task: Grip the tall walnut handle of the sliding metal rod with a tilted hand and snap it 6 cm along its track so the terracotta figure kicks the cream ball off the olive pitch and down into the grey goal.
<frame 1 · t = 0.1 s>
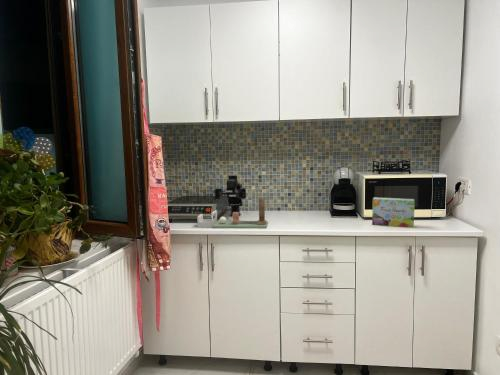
hand: (228, 195, 211), 17 cm above the worktop, tool horizontal, fingers open, 9 cm apart
pitch: (232, 225, 208), on the worktop
snack box: (392, 225, 200), on the worktop
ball: (222, 220, 208), point 3 cm above the worktop, touching pitch
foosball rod: (249, 210, 206), point 8 cm above the worktop, slide at 0.0 cm
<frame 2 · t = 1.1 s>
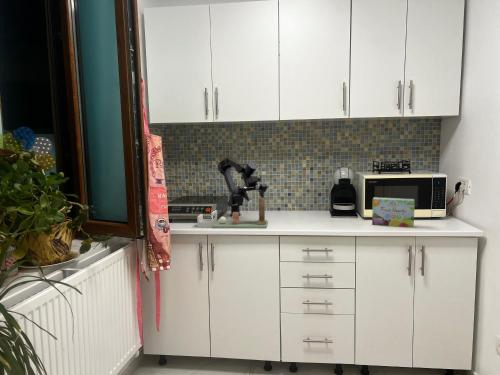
hand: (256, 200, 211), 14 cm above the worktop, tool tilted 45°, fingers open, 9 cm apart
nothing on the worktop moved.
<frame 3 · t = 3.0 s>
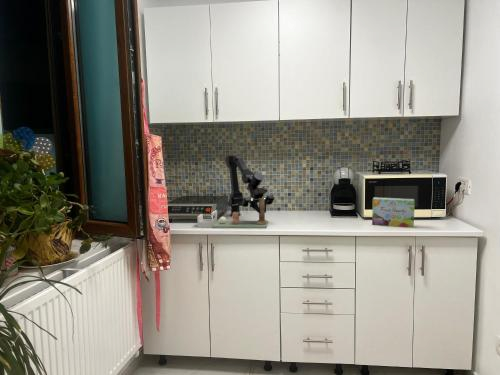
hand: (262, 212, 204), 8 cm above the worktop, tool tilted 45°, fingers closed on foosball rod, 3 cm apart
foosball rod: (249, 210, 206), point 8 cm above the worktop, slide at 0.0 cm, touching gripper
everything else where it was.
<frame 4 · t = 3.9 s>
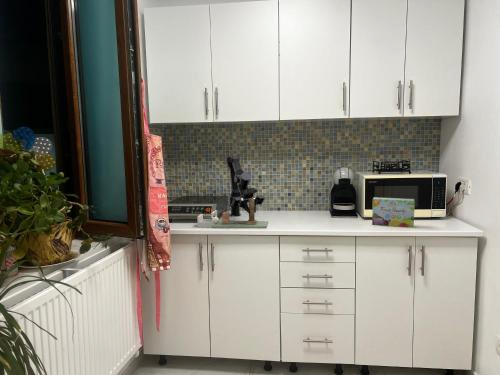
hand: (252, 212, 205), 8 cm above the worktop, tool tilted 45°, fingers closed on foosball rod, 3 cm apart
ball: (215, 220, 209), point 3 cm above the worktop, tilted 100°, touching pitch
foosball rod: (239, 210, 207), point 8 cm above the worktop, slide at 5.8 cm, touching gripper
everything else where it was.
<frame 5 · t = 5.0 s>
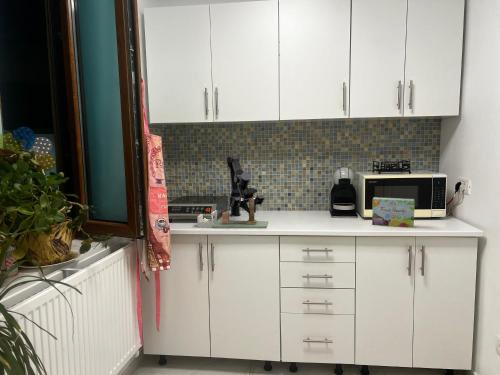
hand: (252, 212, 205), 8 cm above the worktop, tool tilted 45°, fingers closed on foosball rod, 3 cm apart
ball: (205, 221, 210), point 2 cm above the worktop, tilted 77°
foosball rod: (238, 210, 207), point 8 cm above the worktop, slide at 5.9 cm, touching gripper
everything else where it was.
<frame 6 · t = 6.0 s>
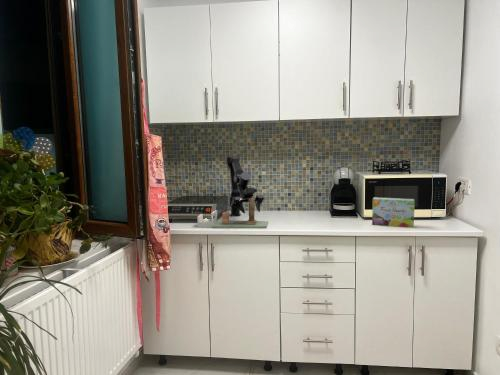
hand: (252, 212, 205), 8 cm above the worktop, tool tilted 45°, fingers open, 9 cm apart
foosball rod: (238, 210, 207), point 8 cm above the worktop, slide at 5.9 cm
everything else where it was.
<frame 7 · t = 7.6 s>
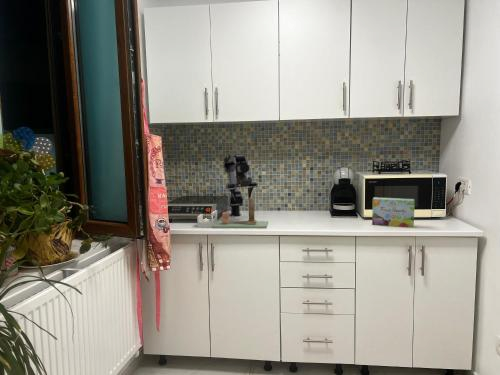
hand: (242, 199, 222), 13 cm above the worktop, tool pointing down, fingers open, 9 cm apart
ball: (205, 221, 210), point 2 cm above the worktop, tilted 87°
everything else where it was.
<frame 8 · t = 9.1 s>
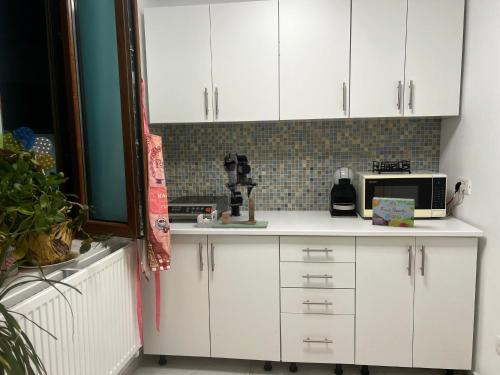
hand: (241, 198, 224), 13 cm above the worktop, tool pointing down, fingers open, 9 cm apart
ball: (206, 221, 210), point 2 cm above the worktop, tilted 93°
everything else where it was.
at the end: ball inside the target area (0.8 cm from its centre), point 2.0 cm above the worktop; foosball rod slide at 5.9 cm; the gripper is holding nothing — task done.
